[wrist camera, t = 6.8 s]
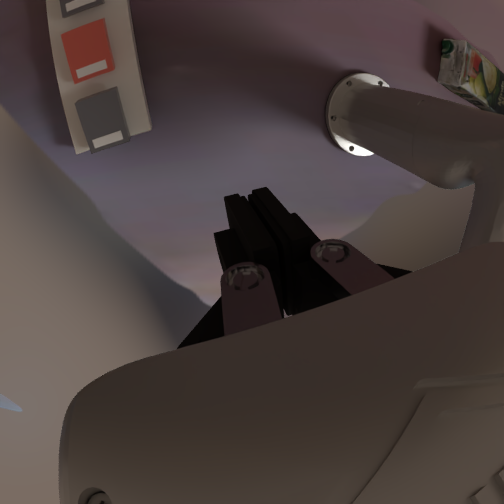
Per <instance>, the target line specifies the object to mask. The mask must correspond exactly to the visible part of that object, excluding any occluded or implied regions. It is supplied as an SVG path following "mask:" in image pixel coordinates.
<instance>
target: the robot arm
mask: <svg viewBox="0 0 504 504" xmlns="http://www.w3.org/2000/svg"><path fill="white" fill-rule="evenodd" d="M346 83H347V84H346ZM331 116H332V118H331ZM326 124H327V128H328V131H329V133H330V136H331V137H332V139H333V141H334V142H335V143H336V144H337V145H338V146H339V147H340V148H341V149H343V150H344V151H346V152H348V153H350V154H353V155H356V156H369V155H372V154H376V155H378V156H380V157H382V158H384V159H386V160H388V161H390V162H392V163H394V164H396V165H398V166H400V167H402V168H403V169H405V170H407V171H409V172H411V173H413V174H415V175H416V176H418V177H420V178H422V179H423V180H425V181H427V182H429V183H431V184H433V185H435V186H437V187H439V188H443V189H451V190H452V189H460V188H463V187H467V186H469V185H472V184H474V183H475V191H474V196H473V200H472V207H471V210H470V214H469V218H468V221H467V225H466V228H465V232H464V235H463V238H462V242H461V245H460V249H459V252H458V253H457V254H454V255H452V256H450V257H447V258H445V259H443V260H440V261H438V262H436V263H433V264H431V265H429V266H426V267H424V268H421V269H419V270H416V271H414V272H412V271H407V270H403V269H399V268H394V267H389V266H385V265H380V264H376V263H374V262H373V261H372V260H371V259H369V258H368V257H367V256H365V255H364V254H363V253H362V252H360V251H359V250H358V249H356V248H355V247H353V246H352V245H351V244H349V243H348V242H345V241H342V240H338V239H326V240H322V241H321V240H320V239H319V238H318V237H317V236H316V235H315V234H314V232H313V231H312V230H311V229H310V228H309V227H308V226H307V225H306V224H305V222H304V221H303V220H302V219H301V218H300V217H299V216H298V215H297V214H296V213H291V214H290V213H289V212H288V211H287V209H286V208H285V207H284V206H283V205H282V204H281V203H280V201H279V200H278V199H277V198H276V197H275V196H274V195H273V194H272V192H271V191H270V190H269V189H268V188H267V187H264V188H259V189H255V190H252V194H249V195H248V200H247V199H246V197H245V196H241V197H240V195H239V194H233V195H229V196H225V197H224V201H225V207H226V212H227V217H228V222H229V227H230V229H227V230H223V231H220V232H216V233H214V238H215V243H216V247H217V251H218V255H219V259H220V263H221V266H222V269H223V275H222V276H221V281H220V283H221V297H220V298H219V299H218V301H217V302H216V303H215V304H214V305H213V306H212V308H211V309H210V310H209V311H208V312H207V314H206V315H205V316H204V317H203V318H202V319H201V320H200V322H199V323H198V324H197V325H196V326H195V327H194V329H193V330H192V331H191V332H190V333H189V335H188V336H187V337H186V338H185V340H183V342H182V343H181V344H180V345H179V347H178V348H177V349H176V350H172V351H168V352H165V353H161V354H158V355H154V356H150V357H146V358H143V359H140V360H137V361H134V362H131V363H128V364H125V365H123V366H121V367H119V368H117V369H114V370H112V371H109V372H107V373H106V374H104V375H102V376H101V377H99V378H97V379H95V380H94V381H92V382H91V383H89V384H88V385H87V386H85V387H84V388H83V389H82V390H81V391H79V392H78V393H77V395H76V396H75V397H74V398H73V400H72V401H71V403H70V405H69V406H68V409H67V411H66V414H65V417H64V421H63V426H62V432H61V438H60V447H59V498H60V504H504V115H502V114H497V113H493V112H489V111H484V110H480V109H477V108H473V107H470V106H466V105H462V104H459V103H455V102H452V101H448V100H444V99H440V98H436V97H432V96H428V95H424V94H420V93H415V92H411V91H406V90H401V89H396V88H391V87H390V86H389V85H388V84H387V83H386V82H385V81H384V80H383V79H381V78H380V77H378V76H376V75H373V74H369V73H354V74H350V75H348V76H346V77H344V78H343V79H342V80H340V81H339V82H338V83H337V84H336V85H335V87H334V88H333V89H332V91H331V93H330V95H329V98H328V101H327V105H326ZM283 308H284V310H285V312H286V314H287V315H288V316H289V315H293V316H290V317H287V318H284V311H283Z"/></svg>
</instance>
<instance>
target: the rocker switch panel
mask: <svg viewBox="0 0 504 504" xmlns="http://www.w3.org/2000/svg"><path fill="white" fill-rule="evenodd" d="M104 2H105V4H101V5H99V6H96V7H93V8H90V9H87V10H84V11H82V12H79V13H77V14H74V15H72V16H69V17H67V18H62V12H61V7H60V1H59V0H46V8H47V18H48V26H49V34H50V41H51V48H52V54H53V60H54V65H55V71H56V76H57V81H58V85H59V90H60V95H61V99H62V103H63V107H64V111H65V115H66V119H67V123H68V127H69V130H70V134H71V138H72V141H73V145H74V148H75V151H76V155H77V154H79V153H82V152H85V151H88V150H90V148H89V146H88V143H87V140H86V137H85V134H84V131H83V128H82V125H81V122H80V119H79V116H78V113H77V110H76V107H75V103H76V101H77V100H79V99H81V98H84V97H87V96H89V95H92V94H95V93H98V92H101V91H104V90H107V89H109V88H113V87H116V86H117V88H118V92H119V96H120V100H121V103H122V107H123V111H124V115H125V118H126V122H127V126H128V129H129V133H130V136H133V135H136V134H140V133H143V132H147V131H150V130H151V129H152V122H151V117H150V113H149V108H148V104H147V99H146V94H145V89H144V85H143V80H142V74H141V69H140V64H139V59H138V53H137V47H136V42H135V36H134V30H133V23H132V17H131V10H130V3H129V0H104ZM102 18H105V23H106V28H107V32H108V37H109V42H110V46H111V51H112V55H113V59H114V63H115V69H114V70H113V71H110V72H107V73H104V74H101V75H98V76H96V77H93V78H90V79H87V80H85V81H82V82H80V83H77V84H74V81H73V78H72V75H71V71H70V68H69V64H68V61H67V57H66V54H65V50H64V46H63V42H62V38H61V34H63V33H65V32H67V31H70V30H72V29H75V28H77V27H80V26H82V25H85V24H88V23H90V22H93V21H96V20H99V19H102Z"/></svg>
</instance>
